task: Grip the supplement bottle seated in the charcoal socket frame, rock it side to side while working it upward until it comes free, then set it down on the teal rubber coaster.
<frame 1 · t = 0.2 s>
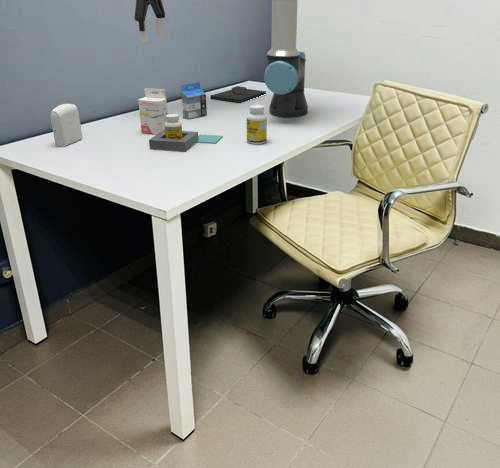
hand: (152, 39, 187), 28 cm above the table, tool pointing down, fingers open, 13 cm apart
label tape cartridge: (195, 117, 196), on the table
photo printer: (69, 143, 167), on the table
black ridged flat slab: (238, 98, 227), on the table
coaster: (207, 139, 169), on the table
supplement bottle: (174, 145, 164), resting in socket frame
socket frame: (174, 144, 164), on the table
pill bottle: (256, 142, 166), on the table
ink cartridge box: (155, 133, 177), on the table
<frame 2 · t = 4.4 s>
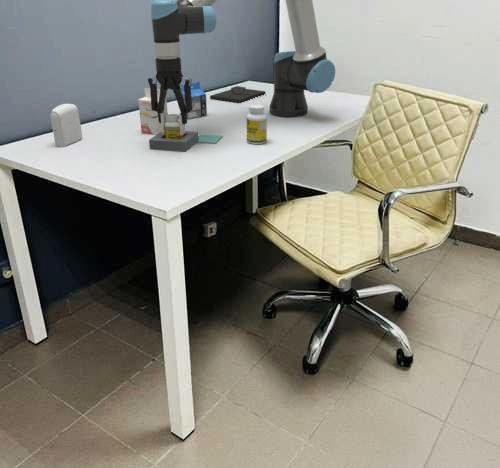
hand: (173, 133, 162), 4 cm above the table, tool pointing down, fingers closed on supplement bottle, 5 cm apart
supplement bottle: (174, 145, 164), resting in socket frame, touching gripper
everything else where it was.
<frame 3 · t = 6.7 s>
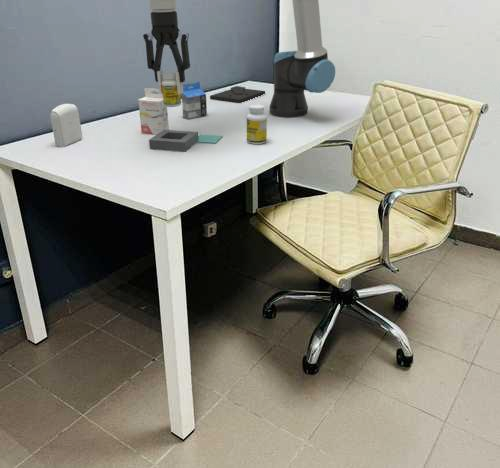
hand: (171, 92, 156), 16 cm above the table, tool pointing down, fingers closed on supplement bottle, 5 cm apart
supplement bottle: (172, 105, 158), point 12 cm above the table, touching gripper
everything else where it was.
when the fingers open (5 cm above the table, at t = 10.8 s): supplement bottle drops 1 cm, resting on coaster.
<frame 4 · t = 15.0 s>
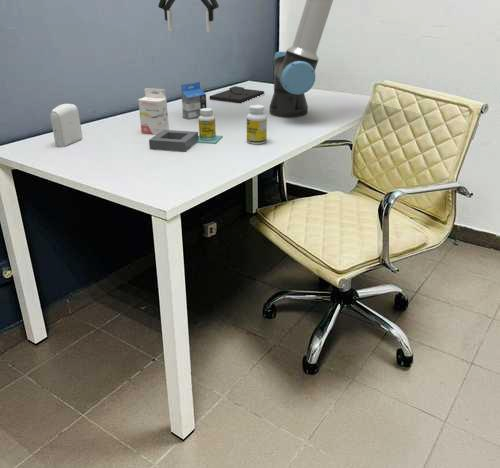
hand: (189, 31, 171), 32 cm above the table, tool pointing down, fingers open, 13 cm apart
supplement bottle: (207, 138, 168), resting on coaster
everything else where it was.
at the end: supplement bottle inside the target area on the coaster (0.0 cm from its centre), point 0.2 cm above the coaster's base; supplement bottle tilted 0°; the gripper is holding nothing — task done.
